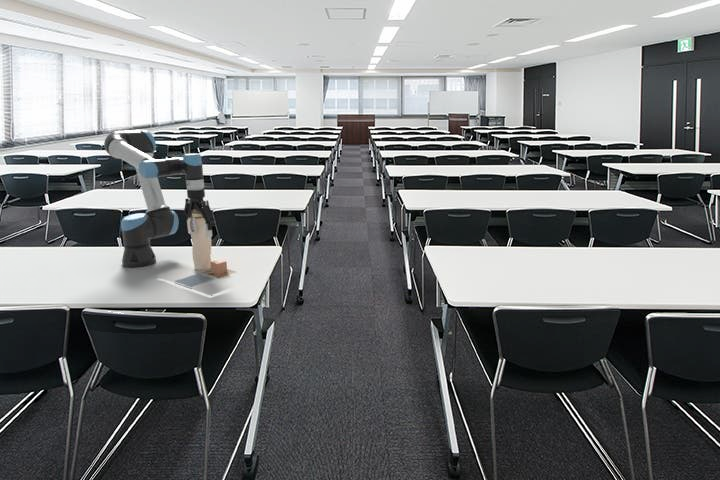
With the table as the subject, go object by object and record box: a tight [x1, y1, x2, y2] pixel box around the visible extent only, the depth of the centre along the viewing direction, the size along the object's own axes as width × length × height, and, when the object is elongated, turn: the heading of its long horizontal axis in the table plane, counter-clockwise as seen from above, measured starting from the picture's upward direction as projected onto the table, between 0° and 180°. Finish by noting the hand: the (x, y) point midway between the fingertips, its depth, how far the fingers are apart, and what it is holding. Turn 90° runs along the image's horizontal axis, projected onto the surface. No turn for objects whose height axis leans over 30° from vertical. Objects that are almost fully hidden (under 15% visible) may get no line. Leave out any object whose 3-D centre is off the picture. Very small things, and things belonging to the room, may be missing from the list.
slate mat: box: [174, 273, 215, 290], centre depth 225 cm, size 12×12×1 cm
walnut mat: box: [201, 268, 237, 278], centre depth 235 cm, size 12×10×1 cm
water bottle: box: [188, 209, 212, 271], centre depth 238 cm, size 10×9×28 cm
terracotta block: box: [210, 258, 228, 275], centre depth 234 cm, size 5×5×5 cm
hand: (200, 235), depth 237 cm, fingers open, 13 cm apart
